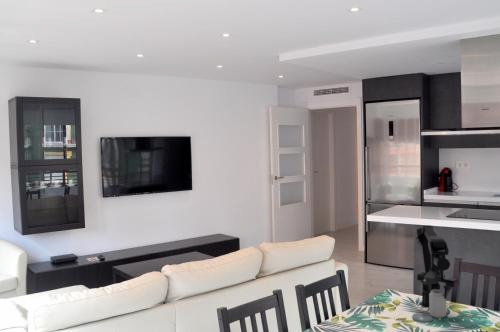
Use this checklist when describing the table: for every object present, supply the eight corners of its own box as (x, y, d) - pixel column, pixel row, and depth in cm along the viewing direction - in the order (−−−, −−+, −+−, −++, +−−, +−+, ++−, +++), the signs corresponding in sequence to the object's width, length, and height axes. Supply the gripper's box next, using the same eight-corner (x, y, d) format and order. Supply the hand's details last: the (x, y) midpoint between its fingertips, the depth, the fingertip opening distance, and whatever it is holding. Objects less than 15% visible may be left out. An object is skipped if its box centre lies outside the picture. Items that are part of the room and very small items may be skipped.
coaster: (408, 319, 228) (408, 316, 228) (418, 314, 234) (418, 311, 234) (426, 324, 221) (426, 321, 221) (436, 318, 227) (436, 316, 227)
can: (443, 313, 235) (443, 288, 234) (448, 318, 227) (448, 293, 227) (427, 312, 235) (427, 288, 235) (431, 318, 228) (431, 293, 227)
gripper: (410, 264, 232) (410, 296, 233) (448, 271, 218) (448, 305, 219) (422, 260, 239) (422, 291, 240) (459, 267, 225) (459, 300, 226)
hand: (437, 297), depth 231 cm, fingers closed on can, 7 cm apart
